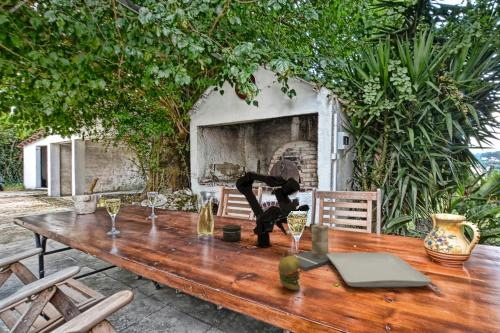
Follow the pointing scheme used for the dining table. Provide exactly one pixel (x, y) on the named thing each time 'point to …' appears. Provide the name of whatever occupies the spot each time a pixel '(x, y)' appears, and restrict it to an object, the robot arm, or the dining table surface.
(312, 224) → the cup
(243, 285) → the dining table surface
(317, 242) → the birch post
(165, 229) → the dining table surface
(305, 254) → the charcoal board
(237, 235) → the jar
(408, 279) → the square plate
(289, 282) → the hamburger
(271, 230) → the robot arm
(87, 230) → the dining table surface
